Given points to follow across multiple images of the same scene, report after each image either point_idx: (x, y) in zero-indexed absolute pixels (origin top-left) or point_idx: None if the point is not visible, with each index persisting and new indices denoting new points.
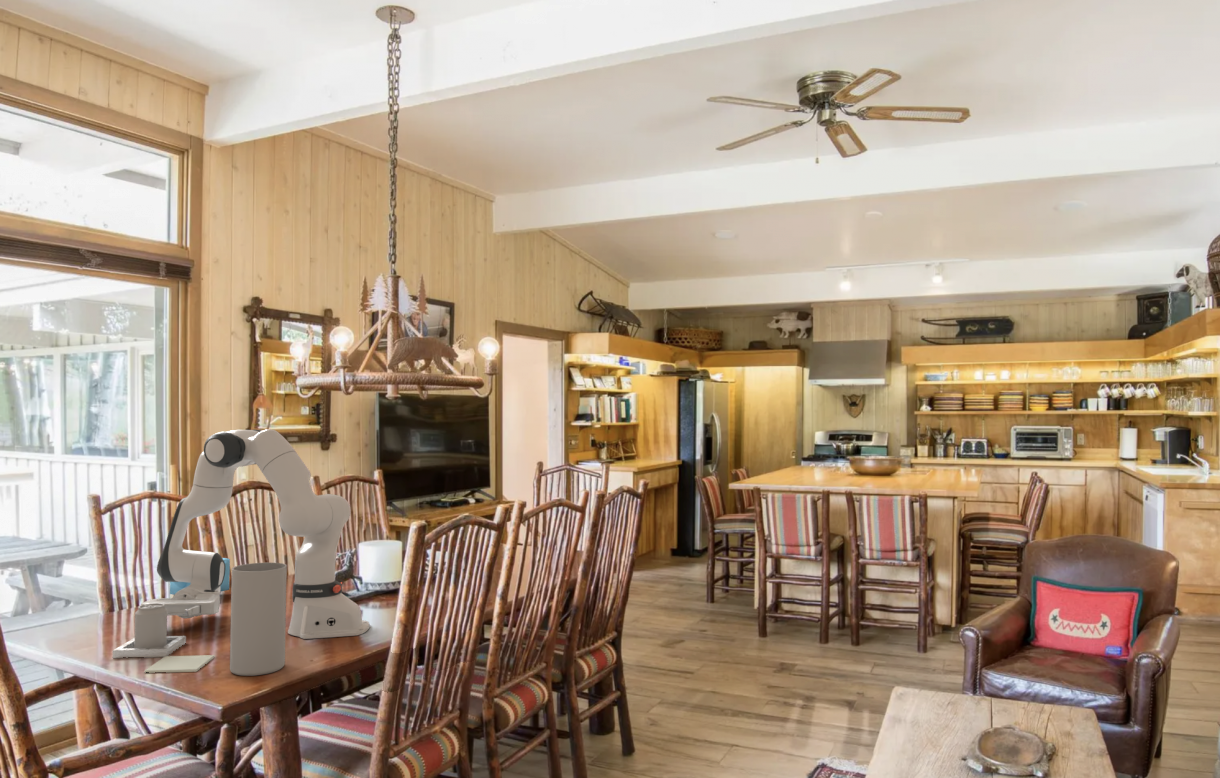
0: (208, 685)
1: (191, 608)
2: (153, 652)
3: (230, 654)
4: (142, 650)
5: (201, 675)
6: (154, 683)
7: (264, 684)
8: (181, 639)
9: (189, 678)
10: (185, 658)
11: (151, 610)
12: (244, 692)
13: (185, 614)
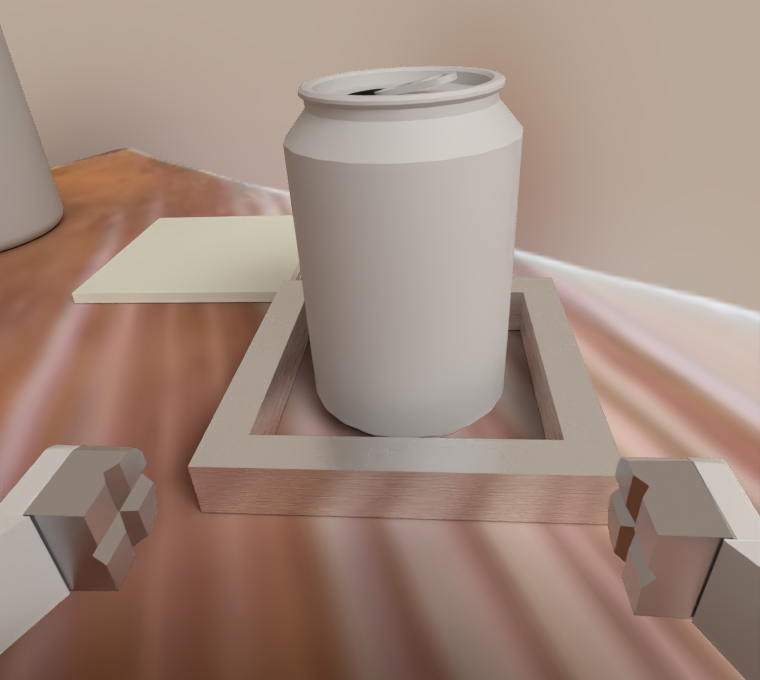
0: (140, 184)
1: (14, 496)
2: None
3: (46, 160)
4: None
5: (149, 213)
6: (273, 189)
7: None
8: (220, 407)
9: (184, 203)
10: (195, 272)
11: (372, 89)
12: (71, 170)
13: (143, 489)
